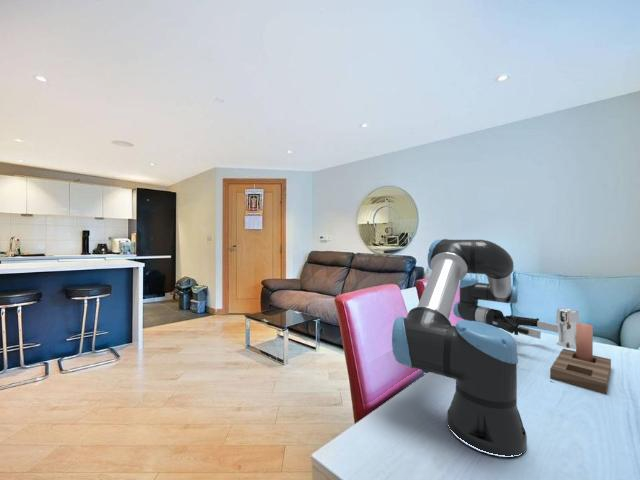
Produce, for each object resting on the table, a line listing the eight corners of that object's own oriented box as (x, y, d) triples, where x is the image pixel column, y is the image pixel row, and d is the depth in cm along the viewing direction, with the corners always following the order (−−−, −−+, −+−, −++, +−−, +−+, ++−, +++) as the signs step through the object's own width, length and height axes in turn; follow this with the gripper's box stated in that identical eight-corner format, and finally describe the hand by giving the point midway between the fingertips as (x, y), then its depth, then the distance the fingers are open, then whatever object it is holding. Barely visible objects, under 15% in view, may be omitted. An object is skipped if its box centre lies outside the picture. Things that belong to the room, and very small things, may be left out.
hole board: (606, 398, 77) (606, 383, 77) (550, 381, 86) (550, 368, 86) (610, 371, 93) (610, 359, 93) (563, 359, 102) (563, 348, 102)
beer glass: (555, 343, 118) (555, 307, 118) (577, 347, 114) (577, 310, 114) (556, 348, 112) (557, 310, 112) (580, 352, 108) (580, 313, 108)
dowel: (585, 370, 91) (585, 326, 91) (572, 364, 95) (573, 323, 95) (595, 369, 92) (596, 326, 92) (582, 364, 96) (582, 322, 96)
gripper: (505, 321, 127) (564, 336, 108) (471, 330, 115) (531, 348, 96) (506, 305, 127) (564, 316, 108) (472, 312, 115) (531, 326, 96)
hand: (549, 331), depth 102 cm, fingers open, 13 cm apart
